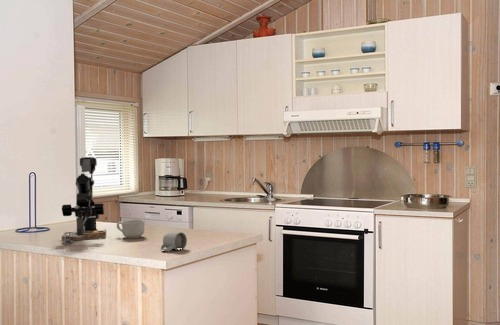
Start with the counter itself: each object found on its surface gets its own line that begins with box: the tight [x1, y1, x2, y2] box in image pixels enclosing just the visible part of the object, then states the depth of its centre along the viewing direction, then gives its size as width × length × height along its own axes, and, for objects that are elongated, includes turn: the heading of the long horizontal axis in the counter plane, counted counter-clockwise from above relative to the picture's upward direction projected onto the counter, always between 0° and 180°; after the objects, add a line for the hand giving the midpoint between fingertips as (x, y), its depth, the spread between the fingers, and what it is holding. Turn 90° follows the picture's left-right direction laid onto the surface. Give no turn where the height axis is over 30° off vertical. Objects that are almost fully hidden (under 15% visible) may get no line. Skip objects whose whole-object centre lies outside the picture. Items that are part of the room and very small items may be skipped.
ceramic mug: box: [160, 231, 188, 252], centre depth 226 cm, size 11×8×8 cm
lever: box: [62, 217, 85, 237], centre depth 250 cm, size 10×15×9 cm
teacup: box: [116, 219, 145, 240], centre depth 257 cm, size 14×11×8 cm
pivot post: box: [61, 237, 74, 245], centre depth 245 cm, size 5×5×3 cm
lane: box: [61, 228, 107, 242], centre depth 258 cm, size 20×9×3 cm, turn 102°
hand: (82, 223), depth 245 cm, fingers closed
